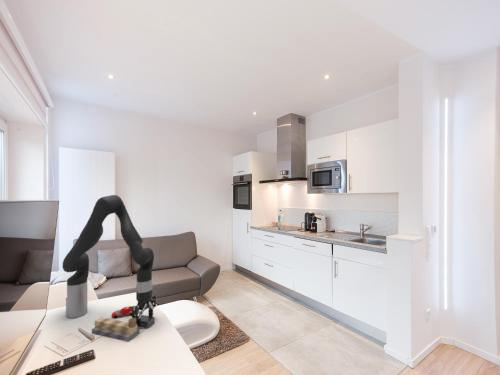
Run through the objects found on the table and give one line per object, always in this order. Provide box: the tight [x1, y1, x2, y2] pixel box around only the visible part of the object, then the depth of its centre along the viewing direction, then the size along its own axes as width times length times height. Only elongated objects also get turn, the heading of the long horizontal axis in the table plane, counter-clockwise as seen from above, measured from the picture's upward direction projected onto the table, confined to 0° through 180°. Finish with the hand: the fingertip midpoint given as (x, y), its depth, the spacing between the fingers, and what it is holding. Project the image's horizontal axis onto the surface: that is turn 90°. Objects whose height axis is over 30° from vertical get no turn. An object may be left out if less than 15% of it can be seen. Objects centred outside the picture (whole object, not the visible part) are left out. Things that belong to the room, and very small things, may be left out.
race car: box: [111, 305, 132, 320], centre depth 133 cm, size 13×5×4 cm, turn 108°
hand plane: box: [91, 317, 141, 342], centre depth 116 cm, size 23×7×8 cm, turn 72°
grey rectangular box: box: [137, 314, 156, 330], centre depth 123 cm, size 8×5×4 cm, turn 72°
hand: (144, 321), depth 123 cm, fingers open, 8 cm apart
